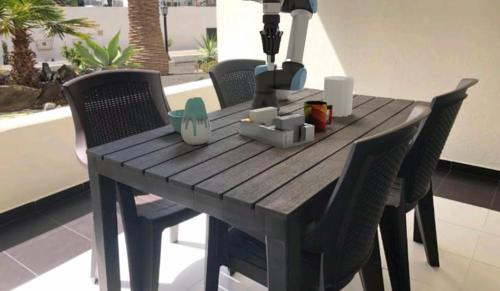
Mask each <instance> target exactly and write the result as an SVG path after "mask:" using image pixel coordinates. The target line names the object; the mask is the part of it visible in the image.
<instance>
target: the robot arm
mask: <svg viewBox="0 0 500 291" xmlns="http://www.w3.org/2000/svg"><path fill="white" fill-rule="evenodd" d="M242 1H246V2H250V1H251V2H255V3H258V4H261V5H262V13H263V14H262V20H261V21H262V24H263V29H261V30H259V35H260V38H261V44H262V52H263V54H265V55H266V64H261V65H258V66H256V67H255V68H254V75H253V76H254V95H253V98H252V102H251V104H250V105H251V110H255V109H261V108H266V107H275V108H277V111H278V110H280V108H281V107H280V102H279V101H278V97H277V90H290V91H291V92H295V91H296V92H298V91H302V90H303V88H304V86H305V85H306V82H307V78H308V75H307V74H308V71H307V69H306V67H305V64H304V63H303V59H304V55H305V54H304V53H305V46H306V41H307V35H308V26H309V21H310V20H311V19H312V18H313V14H314V15H315V14H316V13H317V12H318V0H242ZM280 13H283V14H290V16H291V18H292V20H291V25H290V32H289V37H288V43H287V48H286V49H287V50H286V56H285V60H283V62H282V63H281V66H278V64H277V63H275V62H276V55H279V53H280V47H281V42H282V37H283V35H284V31H283V30H281V29H280V26H279V24H280V23H281V15H280Z"/></svg>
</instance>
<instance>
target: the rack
mask: <svg viewBox="0 0 500 291" xmlns="http://www.w3.org/2000/svg"><path fill="white" fill-rule="evenodd" d="M238 134H239V135H242V136H245V137H248V138H250V139H254V140H256V141H260V142H262V143H265V144H267V145H268V144H269V145H270V146H271V145H272V146H274V147H277V148H281V149H282V150H283V149H284V150H285V149H288V148H292V147H296V146H299V145H303V144H307V143H311V142H314V141H315V140H316V138H315V133H314V125H310V124H307V123H305V115H304V114H302V113H292V114H288V115H284V116H279V115H277V118H275V119H274V126H269V127H266V126H265V123H264V122H257V123H253V121H251V120H249V117H247V118H243V119H239V131H238Z"/></svg>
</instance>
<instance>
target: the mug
mask: <svg viewBox="0 0 500 291" xmlns="http://www.w3.org/2000/svg"><path fill="white" fill-rule="evenodd" d="M328 109H329V116H328V121H327V110H328ZM332 109H333V105H327V103H326V102H323V100H322V101H321V100H306V101H304V102H303V115H305V123H307V124H310V125H314V134H321V133H326V130H327V128H326V127H327V126H331V125H333V116H332Z"/></svg>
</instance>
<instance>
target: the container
mask: <svg viewBox="0 0 500 291" xmlns="http://www.w3.org/2000/svg"><path fill="white" fill-rule="evenodd" d="M354 85H355V78H354V77H351V76H345V75H344V76H341V75H333V76H325V77H324V80H323V98H322V99H323V100H322V101H323V102H326V103H327V105H333V109H332V117H339V118H340V117H341V118H342V117H343V116H344V117H349V116H348V115H350V116H352V114H353V113H352V112H353V98H354ZM327 116H328V117H329V109H328V110H327V115H326V117H327Z"/></svg>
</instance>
